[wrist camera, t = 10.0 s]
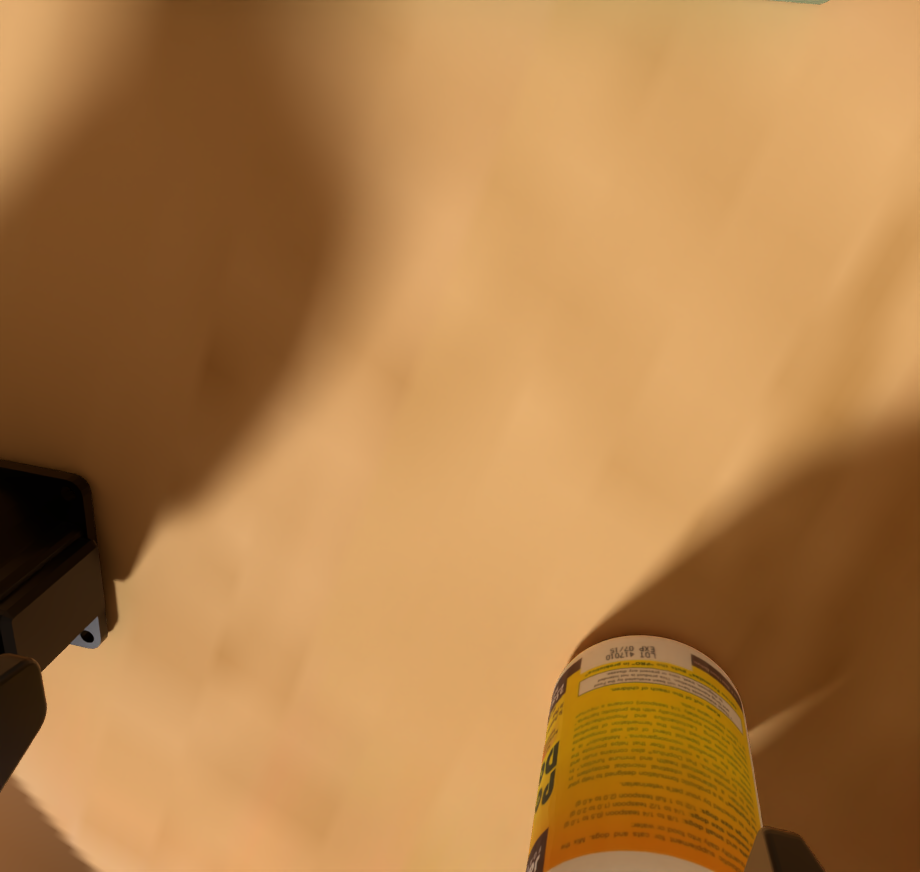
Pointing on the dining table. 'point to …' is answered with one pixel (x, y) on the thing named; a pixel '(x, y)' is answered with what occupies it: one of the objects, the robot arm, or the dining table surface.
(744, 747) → the supplement bottle
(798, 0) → the board
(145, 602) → the dining table surface
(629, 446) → the dining table surface
